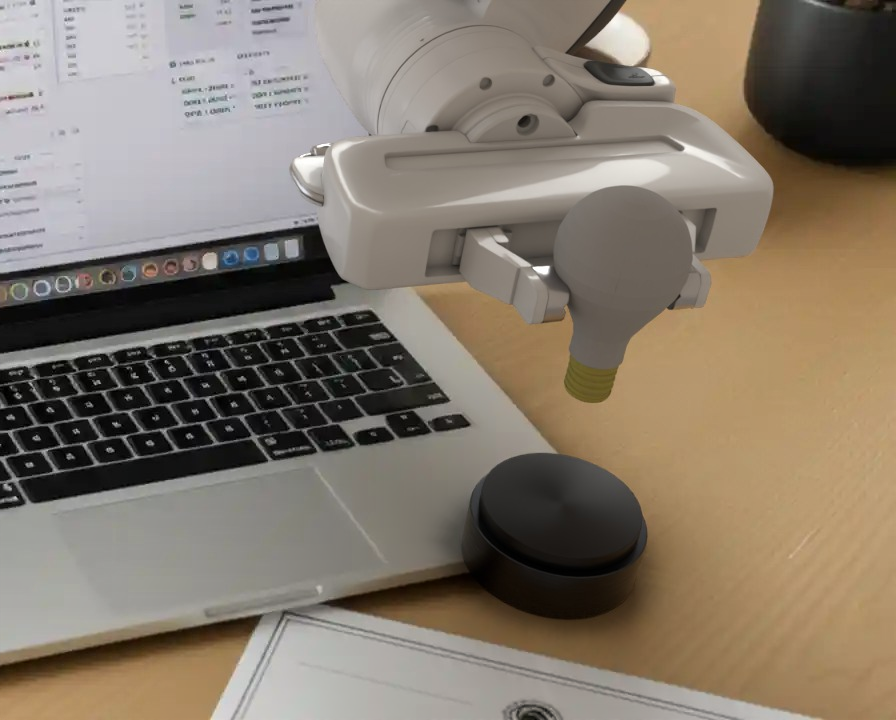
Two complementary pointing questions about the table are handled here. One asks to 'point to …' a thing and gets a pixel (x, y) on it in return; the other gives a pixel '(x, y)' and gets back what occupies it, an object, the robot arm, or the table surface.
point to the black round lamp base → (554, 536)
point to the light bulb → (617, 277)
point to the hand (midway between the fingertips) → (624, 302)
